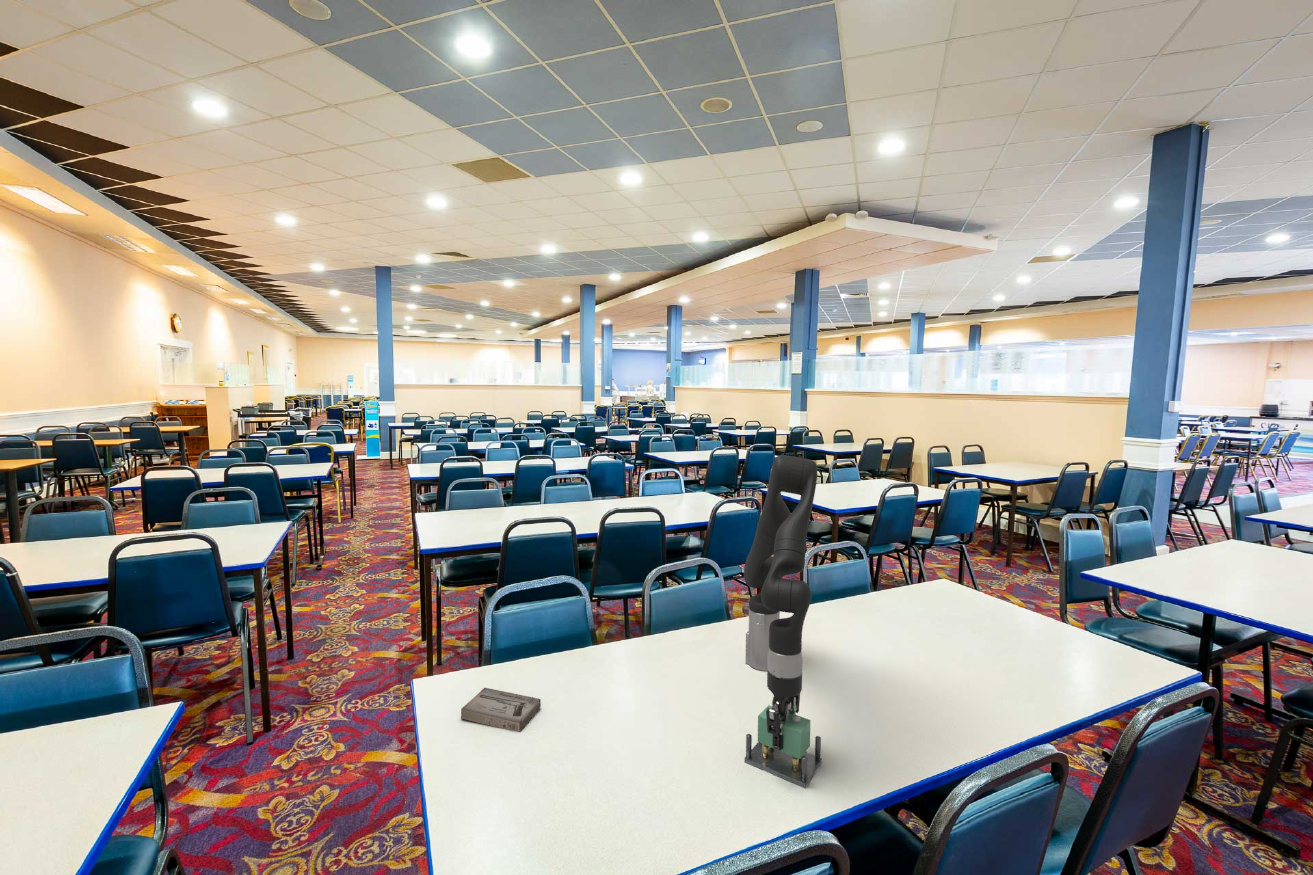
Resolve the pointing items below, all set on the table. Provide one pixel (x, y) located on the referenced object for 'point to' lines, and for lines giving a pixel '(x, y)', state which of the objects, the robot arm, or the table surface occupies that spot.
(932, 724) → the table surface
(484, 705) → the box
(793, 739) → the module block
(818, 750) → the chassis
